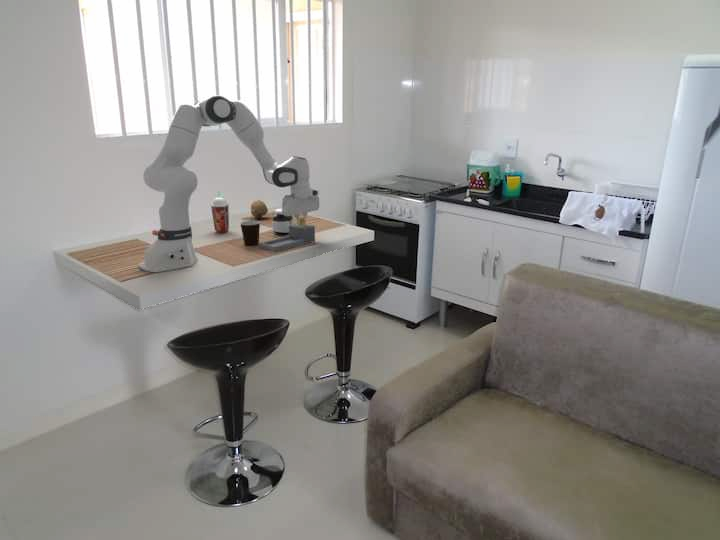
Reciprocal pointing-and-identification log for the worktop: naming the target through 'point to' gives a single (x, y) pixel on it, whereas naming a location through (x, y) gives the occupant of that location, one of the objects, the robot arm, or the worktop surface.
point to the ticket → (302, 222)
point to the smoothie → (220, 214)
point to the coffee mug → (250, 232)
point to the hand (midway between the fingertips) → (301, 222)
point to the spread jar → (281, 223)
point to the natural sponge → (258, 209)
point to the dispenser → (291, 238)
